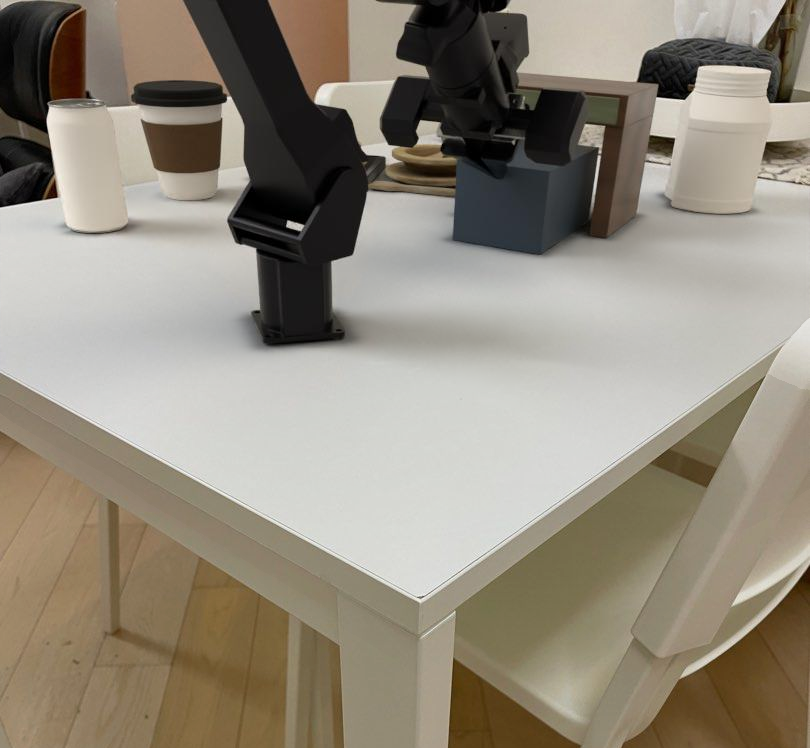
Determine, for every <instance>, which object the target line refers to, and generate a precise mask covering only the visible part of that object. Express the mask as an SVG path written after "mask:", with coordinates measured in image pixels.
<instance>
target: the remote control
mask: <svg viewBox="0 0 810 748" xmlns="http://www.w3.org/2000/svg"><path fill="white" fill-rule="evenodd" d="M366 155H367V156H368V157H369V160H368V161H367V163H366V164H365V165H364V167H365V170H366V174H367V178H368V185H369V184H371V183H373V182H374V181H375V179H376V178H377V177H378V175H379V174H380V173H381V172H383V170H384V169H385V168H386V167H387V166H386V164H387V163H386V162H387V161H386V159H387V158H386V156H385V155H373V154H366Z"/></svg>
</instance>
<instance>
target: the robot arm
mask: <svg viewBox="0 0 810 748" xmlns="http://www.w3.org/2000/svg"><path fill="white" fill-rule="evenodd" d="M375 1H376V2H378V3H383V4H397V5H408V6H409V5H410V6H414V8H413V9H412V12H411V13H410V14H409V17H408V20H407V21H406V22H405V23H404V26H403V31H402V35H401V36H400V38H399V40H398V42H397V44H396V49H395V50H396V51H395V57H396V59H397V60H400V61H404V62H407V63H411V64H414V65H418V66H421V67H425V70H426V73H427V74H428V76H422V75H421V76H420V75H409V74H403V75H399V76H397V77H396V79H395V80H394V82H393V84H392V87H391V88H390V91H389V94H388V96H387V98H386V101H385V104H384V107H383V109H382V111H381V114H380V117H379V130H380V132H381V134H382V136H383V137H384V139H385V141H386V143H387V145H388V146H391V147H407V148H413V147H414V146H415V145H418V142H419V140H420V137H419V135H418V132H417V130H418V128H419V125H420V122H421V121H423V122H432V123H439V124H438V127H437V129H436V132H435V135H436V137H438V138H440V140H441V144H440V145H441V147H440V151H441V153H442V154H443V155H444V156H450V157H452V158H454V159H457V160H459V161H461V162H463V163H465V164H467V165H470V166H472V167H474V168H476V169H478V170H479V171H481V172H483V173H485V174H487V175H489V176H491V177H493V178H495V179H500V180H503V178H504V175H505V173H506V169H507V163H510V162H511V161H512V160H513V159H514V156H515V154H516V151H517V148H518V146H519V143H520V140H525V143H524V151H525V154H526V157H528V158H529V159H531V160H532V161H534V162H535V163H539V164H547V165H555V166H565V165H567V164H568V163H570V162H572V159H573V156H574V153H575V151H576V148H577V145H579V143H580V139H581V136H582V135H583V132H584V128H585V126H586V124H585V123H586V120H587V118H588V115H589V112H590V108H589V103H588V98H587V96H586V94H585V93H584V91H583V90H574V89H563V88H551V87H546V88H543V89H542V90H541V92H540V95H539V98H538V100H537V103H536V106H535V108H534V110H530V106H529V105H528V104H526V103H524V101H525V96H524V95H522V94H511V93H515V92H516V89H517V86H518V84H519V78H518V75H517V72H518V69H519V68H520V66H521V65H522V63H523V62H524V60H525V59H527V58H528V57H529V55H530V41H529V24H528V16H527V15H526V14H524V13H518V12H510V13H501V12H499V11H502V10H504V9H505V8H507V7H508V6H509V4H510V3H511V1H512V0H375ZM182 2H183V4H184V5H185V8H186V10H187V12H188V14H189V15H190V17H191V20H192V22H193V24H194V26H195V28H196V29H197V31H198V34H199V35H200V38H201V40H202V41H203V44H204V46H205V48H206V50H207V51H208V54H209V56H210V58H211V60H212V62H213V64H214V66H215V68H216V70H217V72H218V74H219V77H220V78H221V79H222V82H223V84H224V86H225V88H226V90H227V92H228V94H229V95H230V98H231V100H232V102H233V104H234V106H235V108H236V110H237V112H238V114H239V116H240V118H241V120H242V123H243V154H242V157H243V163H244V166H245V169H246V171H247V174H248V177H249V181H248V183H247V184H246V186H245V187H244V190H243V191H242V193H241V195H240V196H239V197H238V199H237V201H236V203H235V205H234V206H233V207H232V210H231V211H230V213H229V215H228V216H227V219H226V222H227V225H228V227H229V230H230V233H231V236H232V238H233V240H234V243H235V244H237V245H240V246H243V245H244V246H247V247H250V248H253V249H255V255H256V257H255V258H256V269H257V270H256V271H257V272H256V273H257V284H258V297H259V309H254V310H252V311H251V312H250V313H251V319H252V322H253V324H254V326H255V328H256V331H257V333H258V335H259V337H260V340H261V342H262V343H263V344H266V345H267V344H282V343H292V342H293V343H294V342H304V341H306V342H307V341H316V340H328V339H341V338H344V337H345V336H346V329H345V328H344V326H343V325H342V324H341V322H340V321H339V319H338V317H337V316H336V315H335V312H333V311H334V310H333V274H332V273H333V271H332V262H334V261H338V260H341V259H345V258H349V257H351V256H353V255H354V253H355V249H356V245H357V240H358V236H359V231H360V227H361V224H362V219H363V214H364V210H365V207H366V206H365V205H366V202H367V195H368V192H369V189H370V188H369V187H368V178H367V174H366V170H365V167H364V165H363V163H362V162H367V161H368V160H369V157H368V156H367V155H368V154H366V152H364V151H363V149H362V146H361V147H360V145H359V143H358V141H359V140H358V137H357V133H356V129H355V125H354V121H353V118H351V116H350V114H349V113H348V110H347V109H345V108H342V107H336V106H330V105H325V104H319V103H315V101H314V100H313V99H312V98H311V96H310V95H309V93H308V90H307V89H306V86H305V84H304V81H303V79H302V77H301V74H300V72H299V70H298V67H297V64H296V63H295V59H294V58H293V55H292V52H291V51H290V48H289V46H288V44H287V41H286V39H285V37H284V33H283V32H282V29H281V27H280V25H279V22H278V19H277V18H276V15H275V13H274V10H273V8H272V5H271V3H270V1H269V0H182ZM288 222H291V223H295V224H299V225H301V226H302V228H301V230H298V229H295V228H291V227H288V226H287V225H288Z"/></svg>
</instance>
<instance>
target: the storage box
mask: <svg viewBox="0 0 810 748" xmlns="http://www.w3.org/2000/svg"><path fill="white" fill-rule="evenodd" d="M524 143H525V140H520V143H519V146H518V148H517V151H516V154H515V156H514V159H513V160H512V161H511V162H510V163H507V169H506V173H505V175H504V178H503V180H500V179H495V178H493V177H491V176H489V175H487V174H485V173H483V172H481V171H479V170H478V169H476V168H474V167H472V166H470V165H467V164H465V163H463V162H461V161H459V160H457V170H456V186H455V188H454V189H455V197H454V205H453V206H454V207H453V226H452V240H453V241H458V242H464V243H469V244H476V245H481V246H487V247H494V248H499V249H500V248H501V249H505V250H511V251H517V252H523V253H529V254H533V255H534V254H536V255H541V254H543V253H545V252H546V251H547V250H549V249H550V248H552V247H553V246H555V245H557V244H558V243H559V242H561V241H562V240H564V239H566V238H567V237H568V236H570V235H572V234H573V233H574V232H575V231H577V230H578V229H580V228H581V227H583V226H585V225H586V224H587V223H589V222H590V214H591V208H592V201H593V193H594V189H595V188H594V187H595V181H596V174H597V167H598V166H597V165H598V160H599V159H598V158H599V153H600V146H592V145H584V144H578V145H577V148H576V151H575V153H574V156H573V159H572V162H570V163H568V164H567V165H565V166H555V165H547V164H539V163H535V162H534V161H532V160H531V159H529V158H528V157H526V154H525V151H524Z"/></svg>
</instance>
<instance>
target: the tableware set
mask: <svg viewBox="0 0 810 748" xmlns="http://www.w3.org/2000/svg"><path fill="white" fill-rule="evenodd" d="M358 143H359V145H360V147H361V148H362V142H361V141H359V140H358ZM441 145H442V144H430V143H429V144H428V143H427V144H416V145H415V146H414V147H413V148H407V147H399V146H396V147H394V148H393V149H392V150H391V157H392V158H393V159H395V160H396V161H398V162H394V163H390V164H388V165H387V166H385V175H386V176H387V177H388V178H390V179H392V180H395V181H399V182H400V183H399V182H393V181H386V180H373V181H372V182H371V183H370V184H369V185H368V188H369V189H372V190H379V191H386V192H406V193H415V194H424V195H432V196H443V197H453V198H455V188H452V187H456V170H457V159H454V158H452V157H450V156H444V155H443V154H442V153H441V151H440V147H441ZM362 163H363V165H365V164H366V163H367V162H362ZM402 183H403V184H402Z"/></svg>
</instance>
